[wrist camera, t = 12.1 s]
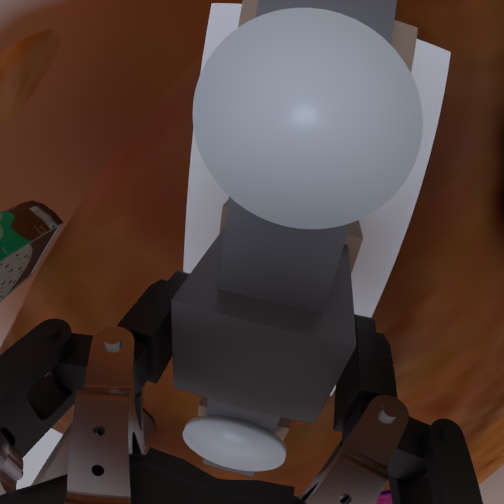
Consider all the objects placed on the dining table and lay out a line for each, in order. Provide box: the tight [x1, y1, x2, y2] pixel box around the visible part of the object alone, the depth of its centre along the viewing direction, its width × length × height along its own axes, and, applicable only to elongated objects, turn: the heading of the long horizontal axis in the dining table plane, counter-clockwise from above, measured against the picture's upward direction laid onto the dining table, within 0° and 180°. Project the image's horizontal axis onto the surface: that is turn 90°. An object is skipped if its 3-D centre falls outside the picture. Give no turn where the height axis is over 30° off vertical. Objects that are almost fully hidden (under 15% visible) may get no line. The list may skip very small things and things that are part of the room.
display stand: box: [183, 0, 451, 441], centre depth 15 cm, size 24×12×8 cm, turn 172°
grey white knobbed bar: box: [171, 0, 423, 477], centre depth 12 cm, size 22×5×6 cm, turn 172°
